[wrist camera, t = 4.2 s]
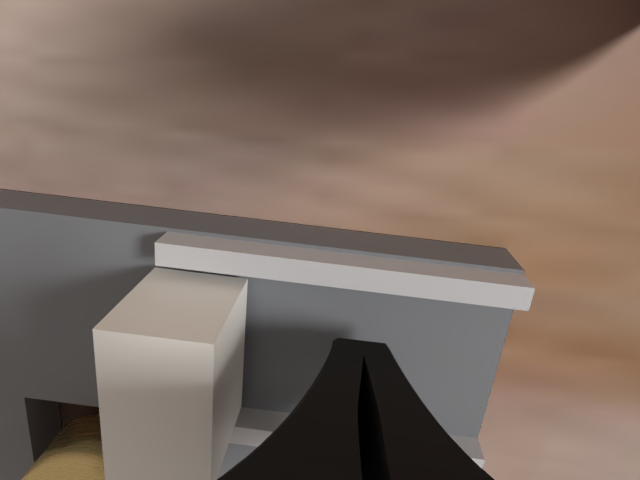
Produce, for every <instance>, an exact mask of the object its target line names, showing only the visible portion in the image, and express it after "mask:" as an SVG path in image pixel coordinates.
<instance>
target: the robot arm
mask: <svg viewBox="0 0 640 480" xmlns="http://www.w3.org/2000/svg"><path fill="white" fill-rule="evenodd" d="M217 480H494V479H493V478H492V477H491V476H490V475H488V474H487V473H486V472H485V471H484V470H483V469H482V468H481V467H480V466H479V465H477V464H476V463H475V462H474V461H473V460H472V459H471V458H470V457H469V456H468V455H467V454H466V453H465V452H464V451H463V450H462V448H461V447H460V446H459V445H458V444H457V443H456V442H455V441H454V440H453V439H452V438H451V437H450V436H449V435H448V434H447V432H446V431H445V430H444V429H443V428H442V426H441V425H440V424H439V423H438V421H437V420H436V419H435V418H434V416H433V415H432V414H431V412H430V411H429V410H428V408H427V407H426V406H425V404H424V403H423V402H422V400H421V399H420V397H419V396H418V394H417V393H416V391H415V390H414V388H413V387H412V386H411V384H410V383H409V381H408V379H407V378H406V376H405V375H404V373H403V371H402V370H401V368H400V366H399V365H398V363H397V361H396V359H395V358H394V356H393V354H392V352H391V350H390V348H389V347H388V346H387V344H386V343H379V342H370V341H362V340H353V339H345V338H337V339H335V340H334V341H333V343H332V347H331V350H330V353H329V355H328V358H327V359H326V361H325V363H324V365H323V367H322V369H321V371H320V372H319V374H318V376H317V377H316V379H315V381H314V382H313V384H312V385H311V387H310V388H309V390H308V391H307V392H306V394H305V395H304V396H303V398H302V399H301V400H300V402H299V403H298V405H297V406H296V407H295V408H294V409H293V411H292V412H291V413H290V414H289V415H288V417H287V418H286V419H285V420H284V421H283V422H282V423H281V424H280V425H279V427H278V428H277V429H276V430H275V431H274V432H273V433H272V434H271V435H270V436H269V437H267V438H266V439H265V440H264V441H263V442H262V443H261V444H260V445H259V446H258V447H257V448H256V449H255V450H254V451H253V452H251V453H250V454H249V455H248V456H247V457H245V458H244V459H243V460H241V461H240V462H239V463H238V464H236V465H235V466H234V467H232V468H231V469H230V470H229V471H227V472H226V473H225V474H224V475H222V476H221V477H220V478H218V479H217Z"/></svg>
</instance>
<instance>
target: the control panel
mask: <svg viewBox="0 0 640 480" xmlns="http://www.w3.org/2000/svg"><path fill="white" fill-rule="evenodd" d="M154 268H163V269H172V270H180V271H188V272H196V273H204V274H213V275H221V276H229V277H237V278H245V279H248V285H247V305H246V325H245V345H244V365H243V385H242V405H241V409H240V412H239V415H238V418H237V421H236V424H235V427H234V429H233V432H232V435H231V438H230V441H229V444H228V447H227V450H226V453H225V456H224V459H223V462H222V465H221V468H220V471H219V474H218V477H217V479H218V478H220V477H221V476H222V475H224V474H225V473H226V472H227V471H229V470H230V469H231V468H232V467H234V466H235V465H236V464H238V463H239V462H240V461H241V460H243V459H244V458H245V457H247V456H248V455H249V454H250V453H251V452H253V451H254V450H255V449H256V448H257V447H258V446H259V445H260V444H261V443H262V442H263V441H264V440H265V439H266V438H267V437H269V436H270V435H271V434H272V433H273V432H274V431H275V430H276V429H277V428H278V427H279V425H280V424H281V423H282V422H283V421H284V420H285V419H286V418H287V417H288V415H289V414H290V413H291V412H292V411H293V409H294V408H295V407H296V406H297V405H298V403H299V402H300V400H301V399H302V398H303V396H304V395H305V394H306V392H307V391H308V390H309V388H310V387H311V385H312V384H313V382H314V381H315V379H316V377H317V376H318V374H319V372H320V371H321V369H322V367H323V365H324V363H325V361H326V359H327V358H328V355H329V353H330V350H331V347H332V343H333V341H334V340H335V339H337V338H345V339H353V340H362V341H370V342H379V343H386V344H387V346H388V347H389V348H390V350H391V352H392V354H393V356H394V358H395V359H396V361H397V363H398V365H399V366H400V368H401V370H402V371H403V373H404V375H405V376H406V378H407V379H408V381H409V383H410V384H411V386H412V387H413V388H414V390H415V391H416V393H417V394H418V396H419V397H420V399H421V400H422V402H423V403H424V404H425V406H426V407H427V408H428V410H429V411H430V412H431V414H432V415H433V416H434V418H435V419H436V420H437V421H438V423H439V424H440V425H441V426H442V428H443V429H444V430H445V431H446V432H447V434H448V435H449V436H450V437H451V438H452V439H453V440H454V441H455V442H456V443H457V444H458V445H459V446H460V447H461V448H462V450H463V451H464V452H465V453H466V454H467V455H468V456H469V457H470V458H471V459H472V460H473V461H474V462H475V463H476V464H477V465H479V466H480V467H481V468H483V465H484V461H485V459H484V456H483V453H482V450H481V447H480V444H479V441H478V434H479V431H480V427H481V424H482V420H483V417H484V413H485V409H486V406H487V402H488V399H489V395H490V392H491V388H492V384H493V381H494V377H495V374H496V370H497V367H498V363H499V359H500V356H501V352H502V349H503V345H504V342H505V338H506V334H507V331H508V327H509V324H510V320H511V317H512V313H513V309H516V310H524V311H529V308H530V304H531V301H532V298H533V294H534V291H535V287H534V286H533V285H532V284H531V283H530V281H529V280H528V279H527V278H526V277H525V275H524V269H523V268H522V267H521V266H520V265H519V264H518V262H517V261H516V260H515V259H514V258H513V256H512V255H511V254H510V253H509V252H508V251H507V249H505V248H497V247H488V246H480V245H471V244H463V243H454V242H446V241H437V240H429V239H420V238H412V237H403V236H395V235H386V234H378V233H369V232H361V231H352V230H344V229H336V228H327V227H319V226H310V225H302V224H293V223H285V222H276V221H268V220H259V219H251V218H242V217H234V216H225V215H217V214H208V213H200V212H191V211H183V210H175V209H166V208H158V207H149V206H141V205H132V204H124V203H115V202H107V201H98V200H90V199H81V198H73V197H64V196H56V195H47V194H39V193H30V192H22V191H14V190H5V189H0V480H21V479H22V478H23V477H24V475H25V474H26V473H27V472H28V470H29V469H30V468H31V467H32V465H33V464H34V463H35V462H36V461H37V459H38V458H39V457H40V456H41V454H42V453H43V452H44V451H45V450H46V448H47V447H48V446H49V445H50V443H51V442H52V441H53V440H54V439H55V437H56V436H57V435H58V434H59V432H60V431H61V430H62V427H61V419H60V410H59V402H63V403H71V404H78V405H86V406H93V407H99V402H98V390H97V378H96V366H95V355H94V343H93V331H92V329H93V328H94V327H95V326H96V325H97V324H98V323H99V322H100V321H101V320H102V319H103V318H104V317H105V316H106V315H107V314H108V313H109V312H110V311H111V310H112V309H113V308H114V307H115V306H116V305H117V304H118V303H119V302H120V301H121V300H122V299H123V298H124V297H125V296H126V295H127V294H129V293H130V292H131V291H132V290H133V289H134V288H135V287H136V286H137V285H138V284H139V283H140V282H141V281H142V280H143V279H144V278H145V277H146V276H147V275H148V274H149V273H150V272H151V271H152V270H153V269H154Z"/></svg>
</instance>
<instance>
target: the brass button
mask: <svg viewBox="0 0 640 480" xmlns="http://www.w3.org/2000/svg"><path fill="white" fill-rule="evenodd" d="M21 480H105V474H104V462H103V450H102V438H101V426H100V414H91V415H86V416H82V417H79V418H77V419H75V420H73V421H71V422H70V423H68V424H67V425H66V426H65V427H64V428H63V429H62V430H61V431H60V432H59V434H58V435H57V436H56V437H55V439H54V440H53V441H52V442H51V443H50V445H49V446H48V447H47V448H46V450H45V451H44V452H43V453H42V454H41V456H40V457H39V458H38V459H37V461H36V462H35V463H34V464H33V465H32V467H31V468H30V469H29V470H28V472H27V473H26V474H25V475H24V477H23V478H22V479H21Z"/></svg>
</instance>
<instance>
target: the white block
mask: <svg viewBox="0 0 640 480" xmlns="http://www.w3.org/2000/svg"><path fill="white" fill-rule="evenodd" d="M247 285H248V279H245V278H237V277H229V276H221V275H213V274H204V273H196V272H188V271H180V270H172V269H163V268H154V269H153V270H152V271H151V272H150V273H149V274H148V275H147V276H146V277H145V278H144V279H143V280H142V281H141V282H140V283H139V284H138V285H137V286H136V287H135V288H134V289H133V290H132V291H131V292H130V293H129V294H127V295H126V296H125V297H124V298H123V299H122V300H121V301H120V302H119V303H118V304H117V305H116V306H115V307H114V308H113V309H112V310H111V311H110V312H109V313H108V314H107V315H106V316H105V317H104V318H103V319H102V320H101V321H100V322H99V323H98V324H97V325H96V326H95V327H94V328H93V329H92V331H93V343H94V355H95V366H96V378H97V390H98V402H99V414H100V426H101V438H102V450H103V462H104V474H105V480H217V477H218V474H219V471H220V468H221V465H222V462H223V459H224V456H225V453H226V450H227V447H228V444H229V441H230V438H231V435H232V432H233V429H234V427H235V424H236V421H237V418H238V415H239V412H240V409H241V405H242V385H243V365H244V345H245V325H246V305H247Z"/></svg>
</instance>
